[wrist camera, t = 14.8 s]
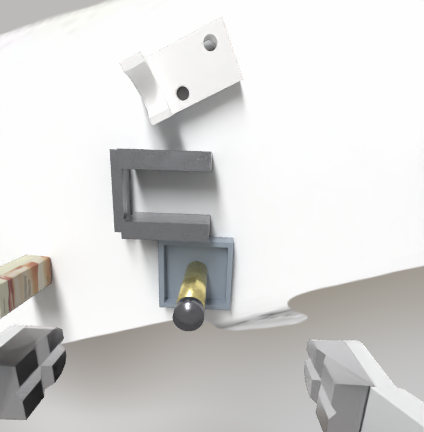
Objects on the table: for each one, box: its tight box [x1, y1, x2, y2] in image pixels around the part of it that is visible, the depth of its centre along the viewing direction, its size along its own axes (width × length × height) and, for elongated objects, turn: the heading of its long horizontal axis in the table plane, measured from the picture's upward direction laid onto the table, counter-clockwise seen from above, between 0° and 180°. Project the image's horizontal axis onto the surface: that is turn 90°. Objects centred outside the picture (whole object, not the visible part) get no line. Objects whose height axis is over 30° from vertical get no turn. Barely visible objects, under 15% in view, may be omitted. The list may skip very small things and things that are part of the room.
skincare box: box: [0, 255, 51, 319], centre depth 35 cm, size 5×4×10 cm
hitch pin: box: [173, 261, 208, 331], centre depth 33 cm, size 4×4×12 cm
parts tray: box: [158, 237, 234, 310], centre depth 38 cm, size 12×12×2 cm
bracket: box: [119, 17, 243, 125], centre depth 30 cm, size 13×7×8 cm, turn 115°
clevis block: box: [110, 149, 212, 242], centre depth 34 cm, size 14×12×6 cm
